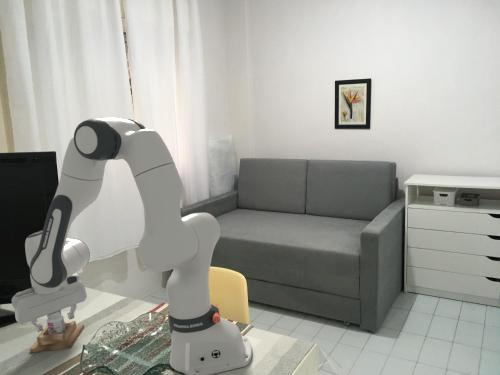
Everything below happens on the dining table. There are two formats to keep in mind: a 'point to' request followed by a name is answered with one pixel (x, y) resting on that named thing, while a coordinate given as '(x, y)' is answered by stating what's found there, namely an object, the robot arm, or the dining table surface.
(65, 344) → the brown square wooden holder
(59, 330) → the pill bottle
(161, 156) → the robot arm
